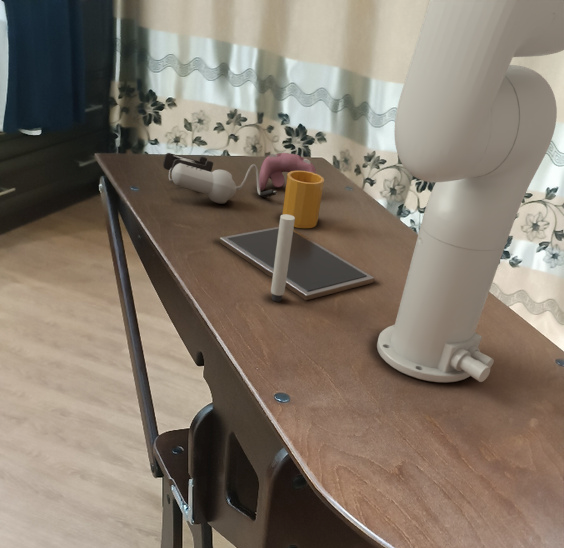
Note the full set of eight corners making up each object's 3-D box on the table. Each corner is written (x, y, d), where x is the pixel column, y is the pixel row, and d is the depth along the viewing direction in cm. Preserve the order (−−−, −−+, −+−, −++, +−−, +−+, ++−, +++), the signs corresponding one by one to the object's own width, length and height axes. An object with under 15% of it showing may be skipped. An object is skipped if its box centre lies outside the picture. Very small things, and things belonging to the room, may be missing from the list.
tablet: (373, 282, 103) (374, 276, 102) (305, 300, 96) (306, 294, 95) (286, 230, 113) (286, 224, 113) (219, 242, 106) (219, 236, 106)
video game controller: (312, 202, 128) (318, 160, 126) (312, 198, 124) (319, 155, 122) (257, 193, 128) (263, 151, 126) (256, 188, 124) (262, 145, 122)
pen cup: (324, 225, 117) (331, 181, 112) (296, 230, 114) (303, 185, 109) (301, 212, 120) (307, 168, 115) (274, 217, 117) (279, 172, 112)
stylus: (286, 301, 95) (297, 218, 88) (275, 303, 94) (286, 220, 87) (277, 295, 96) (288, 213, 89) (267, 297, 95) (277, 215, 88)
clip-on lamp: (257, 202, 129) (159, 174, 121) (267, 166, 125) (168, 134, 118) (273, 222, 120) (169, 192, 112) (285, 183, 116) (178, 150, 109)
